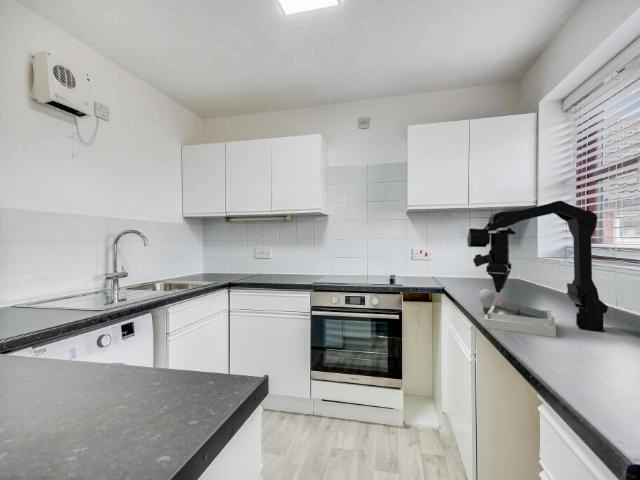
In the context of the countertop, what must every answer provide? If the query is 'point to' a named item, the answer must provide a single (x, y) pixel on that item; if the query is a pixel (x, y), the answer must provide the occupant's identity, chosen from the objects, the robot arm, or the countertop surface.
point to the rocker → (519, 309)
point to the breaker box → (520, 322)
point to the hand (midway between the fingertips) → (499, 290)
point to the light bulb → (486, 299)
